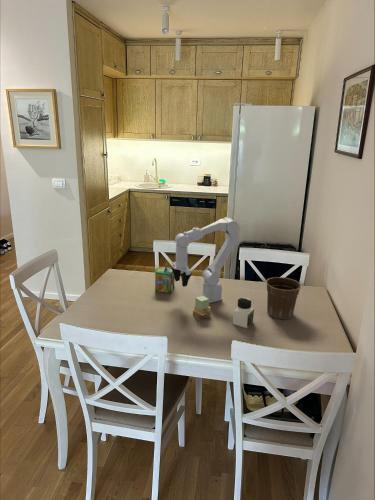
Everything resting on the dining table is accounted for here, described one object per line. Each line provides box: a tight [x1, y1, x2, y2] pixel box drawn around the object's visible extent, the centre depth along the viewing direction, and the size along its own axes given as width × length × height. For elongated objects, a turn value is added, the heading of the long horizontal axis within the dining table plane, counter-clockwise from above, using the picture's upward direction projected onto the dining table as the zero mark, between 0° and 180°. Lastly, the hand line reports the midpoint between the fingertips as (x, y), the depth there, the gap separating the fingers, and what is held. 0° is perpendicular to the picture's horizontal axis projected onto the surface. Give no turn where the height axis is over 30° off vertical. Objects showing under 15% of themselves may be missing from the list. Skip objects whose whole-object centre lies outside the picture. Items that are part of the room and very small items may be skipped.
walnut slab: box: [192, 309, 211, 321], centre depth 174 cm, size 6×6×2 cm
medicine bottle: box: [232, 297, 255, 329], centre depth 166 cm, size 7×7×12 cm
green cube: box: [194, 295, 210, 310], centre depth 172 cm, size 4×4×4 cm
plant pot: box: [265, 276, 302, 320], centre depth 175 cm, size 16×16×16 cm
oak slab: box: [193, 306, 212, 316], centre depth 173 cm, size 6×6×2 cm
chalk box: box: [154, 263, 176, 294], centre depth 199 cm, size 9×9×15 cm
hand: (181, 283), depth 184 cm, fingers open, 7 cm apart
